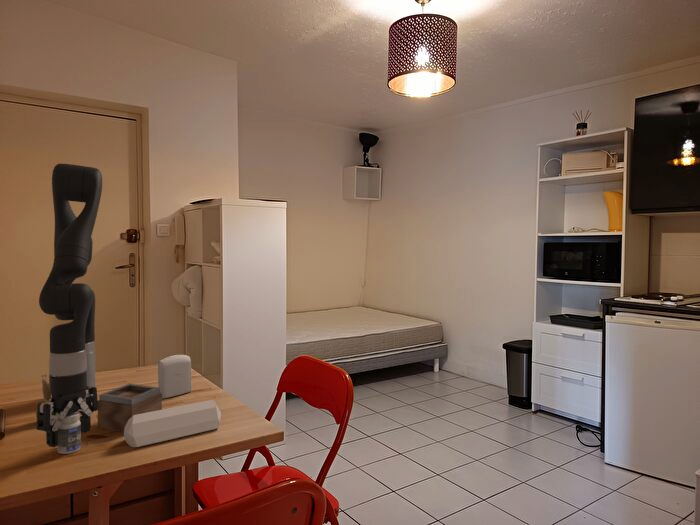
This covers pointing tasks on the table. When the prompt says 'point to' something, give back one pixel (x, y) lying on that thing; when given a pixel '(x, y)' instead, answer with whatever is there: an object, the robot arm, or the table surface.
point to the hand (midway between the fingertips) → (69, 438)
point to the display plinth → (126, 405)
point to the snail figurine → (46, 392)
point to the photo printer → (174, 375)
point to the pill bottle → (69, 434)
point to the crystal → (171, 423)
